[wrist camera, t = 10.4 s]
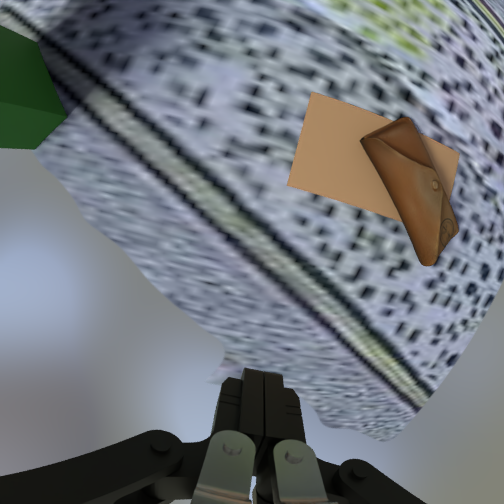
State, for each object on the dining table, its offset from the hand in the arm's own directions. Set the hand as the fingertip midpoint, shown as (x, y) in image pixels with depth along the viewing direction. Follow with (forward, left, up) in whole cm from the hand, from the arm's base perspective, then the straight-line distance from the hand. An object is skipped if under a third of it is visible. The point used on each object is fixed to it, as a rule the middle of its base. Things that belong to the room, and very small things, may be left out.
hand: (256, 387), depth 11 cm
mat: (-14, +12, -27) cm, 32 cm away
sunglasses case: (-12, +17, -27) cm, 34 cm away
